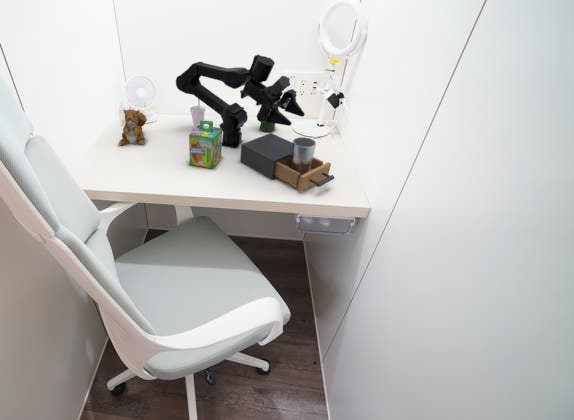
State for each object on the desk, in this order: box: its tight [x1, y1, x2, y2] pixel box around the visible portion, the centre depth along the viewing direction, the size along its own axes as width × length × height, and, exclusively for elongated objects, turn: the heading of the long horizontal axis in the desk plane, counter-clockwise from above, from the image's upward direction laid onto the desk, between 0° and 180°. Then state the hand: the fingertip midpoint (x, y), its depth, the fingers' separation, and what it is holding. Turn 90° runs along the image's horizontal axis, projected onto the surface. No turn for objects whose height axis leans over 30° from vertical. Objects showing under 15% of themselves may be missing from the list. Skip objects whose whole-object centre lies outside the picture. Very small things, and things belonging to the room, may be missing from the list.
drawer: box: [274, 156, 335, 193], centre depth 102 cm, size 18×13×5 cm
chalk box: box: [188, 120, 223, 170], centre depth 112 cm, size 9×9×15 cm
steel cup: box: [289, 136, 317, 179], centre depth 101 cm, size 7×7×11 cm
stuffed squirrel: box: [118, 108, 148, 146], centre depth 129 cm, size 10×14×13 cm
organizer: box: [239, 132, 293, 180], centre depth 111 cm, size 15×14×7 cm
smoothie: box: [189, 98, 207, 130], centre depth 134 cm, size 6×6×14 cm
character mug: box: [259, 105, 280, 132], centre depth 132 cm, size 11×7×13 cm, turn 171°
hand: (297, 119), depth 104 cm, fingers open, 9 cm apart
